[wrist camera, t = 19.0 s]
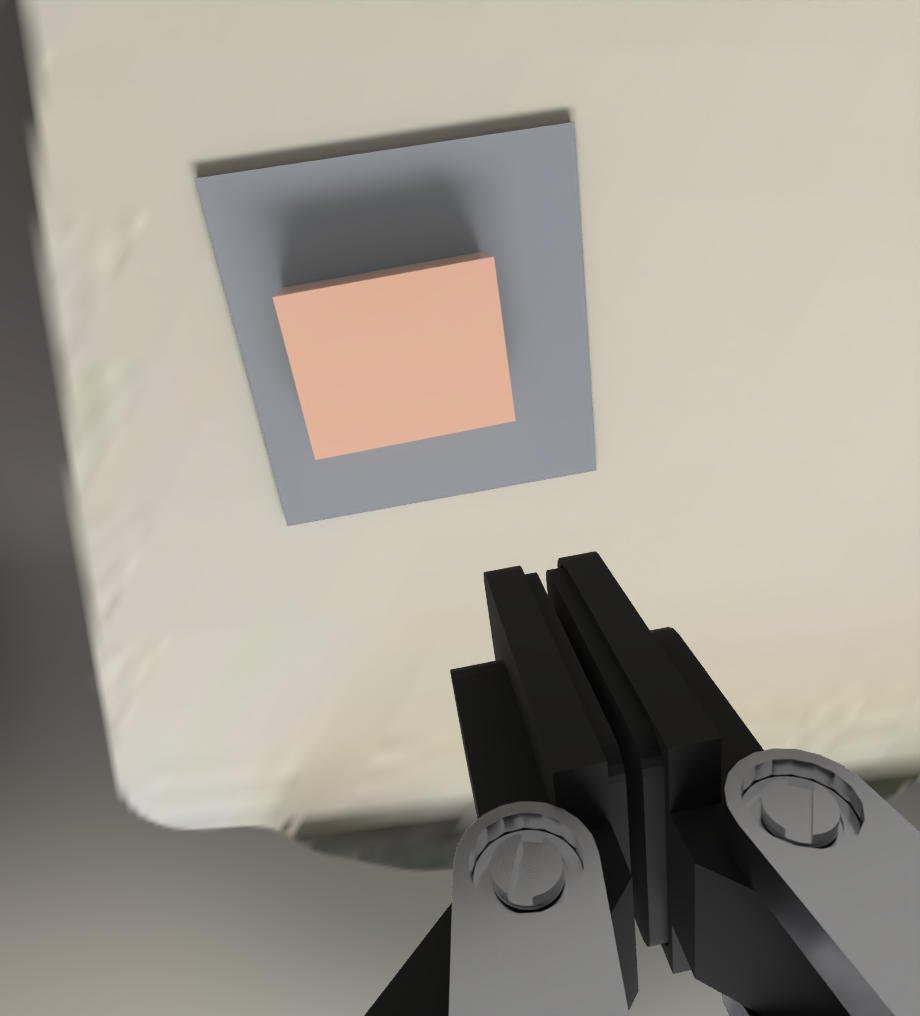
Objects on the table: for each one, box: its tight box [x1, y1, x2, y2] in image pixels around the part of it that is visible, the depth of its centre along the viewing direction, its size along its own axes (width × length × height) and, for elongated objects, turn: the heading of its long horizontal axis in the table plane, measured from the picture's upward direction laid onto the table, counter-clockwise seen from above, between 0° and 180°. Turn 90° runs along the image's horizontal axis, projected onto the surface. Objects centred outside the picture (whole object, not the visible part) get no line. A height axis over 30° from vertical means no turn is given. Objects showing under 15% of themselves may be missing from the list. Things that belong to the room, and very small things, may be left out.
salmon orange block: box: [273, 252, 516, 460], centre depth 31 cm, size 3×7×9 cm
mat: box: [195, 122, 596, 526], centre depth 33 cm, size 16×16×1 cm
